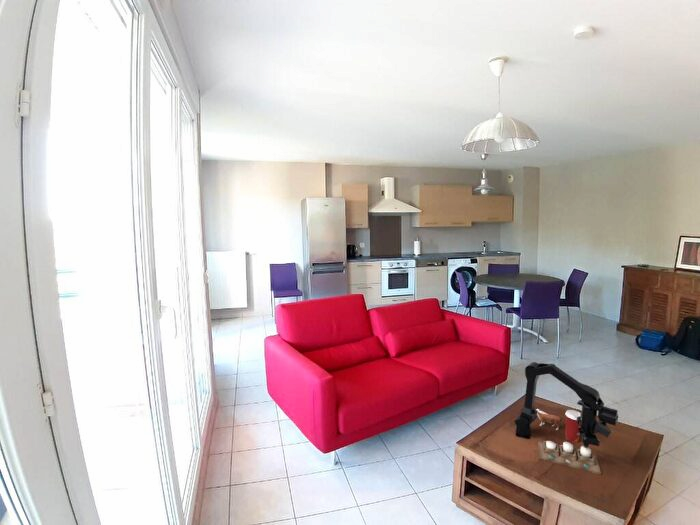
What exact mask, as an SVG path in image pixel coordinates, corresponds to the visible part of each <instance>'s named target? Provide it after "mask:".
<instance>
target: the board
mask: <svg viewBox="0 0 700 525" xmlns="http://www.w3.org/2000/svg"><path fill="white" fill-rule="evenodd" d="M547 441H548V440H543V441H542V442H540V441H538V442H537V446H538V447H537V448H538V458H539V459H541V460H544V461H548V462H551V463H554V464H559V465H564V466H566V467H570V468H573V469H574V468H575V469H578V470H582V471H586V472H589V473H594V474H597V475H600V476H601V475H602V472H601V468H600V465H599V462H598V460H597V459H598V458H597V456H596V455H595V454H593V452H592V451H591V457H590V458H586V457H582V456H580V450H581V448H575V447H573V454H570V453H566V452H563V444H560V443H559V445H558V443H555V442H554V443H555V444H556V449H555V450H554V449H550V448H546V442H547Z"/></svg>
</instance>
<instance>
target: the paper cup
mask: <svg viewBox="0 0 700 525" xmlns="http://www.w3.org/2000/svg"><path fill="white" fill-rule="evenodd" d="M581 413H582V412H581ZM581 413H580V412H579V411H577V410H574V409H567V410H566V412H565V413H564V414H565V439H566V440H568V442H570V443H577V442H579V440H580V432H579V429H578V428H581V427H580V422H579V424H577V417H579V416H580V414H581Z"/></svg>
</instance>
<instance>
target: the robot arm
mask: <svg viewBox="0 0 700 525" xmlns="http://www.w3.org/2000/svg"><path fill="white" fill-rule="evenodd" d="M543 375H551V376H552V377H554V378H556V379H557V381H559V382H561V383H562V384H563V385H565V386H567V388H569V389H570V390H572V391H573V392H575V394H576V395H577V397H579V398H580V399H579V400H578V401H577V402H576V403H577V405H579V406H581V414H580V416H579V417H577V424H579V422H580V427H581V428H578V429H579V432H580V435H579V437H580V438H581V441H582V444H583V446H584V447H585V448H589V445H591V446H595V447H599V446H600V444H601V442H600V439H599V437H598V435H597V434H600V435H602V436H604V437H605V438H609V436H611V434H612V430H611V428H610V426H609V425H612V426H615V427H616V426H617V425H618V421H619V410H618V409H615V408H611V407H608V406H605V402H604V401H603V399H602V397H600V393H599V391H598V390H597V389H595V388H594V387H592V386H589V385H587V384H584V383H581V382H580V381H578V380H577V379H576V378H574V377H573V376H571V375H569V374H568V373H566V372H565V371H563V370H562V369H560V367H558V366H557V365H556V364H554V363H545V362H542V363H541V362H540V363H538V362H536V361H534V362H531V363H529V364H528V365H526V366H525V368H524V376H525V379H526V388H525V396H524V405H523V408H522V409H521V411H520V415H518V417H517V418H516V419H515V420H514V424H515V436H516V437H519V438H522V439H527V440H530V437H531V434H532V426H531V424H532V423H534V422H535V421H536V420H537V418H538V415H537V412H538V410H536V409H535V399H536V391H537V383H538V380H539V378H540V376H543ZM597 419H598V421H597ZM607 424H609V425H607Z"/></svg>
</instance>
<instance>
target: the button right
mask: <svg viewBox="0 0 700 525" xmlns="http://www.w3.org/2000/svg"><path fill="white" fill-rule="evenodd" d="M591 452H592V450H591V448H590V447H588V448H585V447H584V445H581V446H580V456H582V457H586V458H590V457H591Z"/></svg>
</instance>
